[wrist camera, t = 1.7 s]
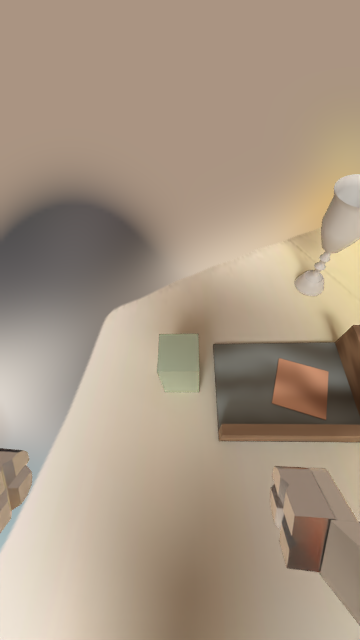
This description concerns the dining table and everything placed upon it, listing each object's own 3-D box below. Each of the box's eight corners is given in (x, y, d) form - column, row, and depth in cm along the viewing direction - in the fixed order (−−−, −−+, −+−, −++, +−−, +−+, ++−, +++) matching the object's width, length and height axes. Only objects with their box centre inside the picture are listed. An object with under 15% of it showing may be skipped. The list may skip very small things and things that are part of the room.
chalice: (320, 307, 44) (387, 216, 28) (283, 290, 46) (325, 198, 31) (334, 279, 47) (402, 183, 31) (298, 264, 49) (344, 169, 33)
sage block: (199, 392, 37) (199, 371, 30) (165, 392, 38) (157, 371, 30) (198, 360, 40) (198, 333, 32) (166, 360, 40) (159, 334, 33)
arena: (375, 442, 33) (408, 436, 28) (218, 440, 34) (222, 435, 29) (341, 344, 40) (362, 325, 35) (213, 345, 41) (215, 327, 36)
